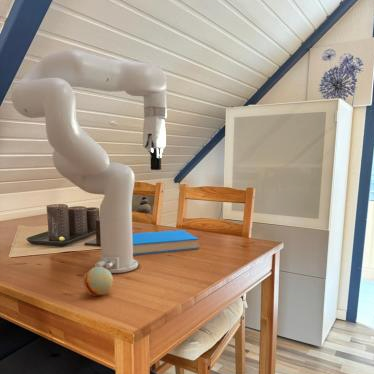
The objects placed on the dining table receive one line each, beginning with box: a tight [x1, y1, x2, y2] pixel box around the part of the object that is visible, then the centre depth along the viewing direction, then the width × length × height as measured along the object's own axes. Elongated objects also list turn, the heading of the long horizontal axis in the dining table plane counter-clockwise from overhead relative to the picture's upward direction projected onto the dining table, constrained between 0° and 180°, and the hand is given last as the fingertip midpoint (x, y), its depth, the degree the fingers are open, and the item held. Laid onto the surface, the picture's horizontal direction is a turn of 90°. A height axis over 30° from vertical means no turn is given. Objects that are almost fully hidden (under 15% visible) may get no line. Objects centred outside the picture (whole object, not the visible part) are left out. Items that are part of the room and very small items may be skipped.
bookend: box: [84, 218, 101, 247], centre depth 139 cm, size 14×9×10 cm, turn 163°
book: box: [132, 229, 199, 256], centre depth 132 cm, size 17×4×25 cm
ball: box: [82, 266, 114, 297], centre depth 85 cm, size 7×7×7 cm
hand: (155, 169), depth 120 cm, fingers closed
